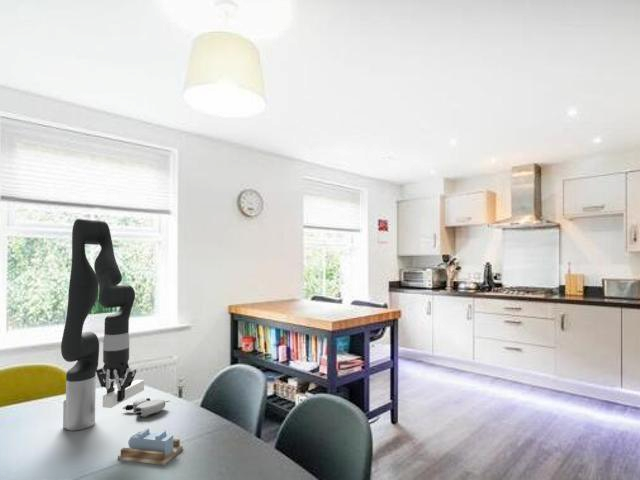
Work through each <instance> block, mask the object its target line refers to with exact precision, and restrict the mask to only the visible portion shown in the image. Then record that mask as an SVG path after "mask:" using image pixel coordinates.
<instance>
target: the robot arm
mask: <svg viewBox="0 0 640 480" xmlns="http://www.w3.org/2000/svg"><path fill="white" fill-rule="evenodd" d="M71 230H72V231H71V232H72V233H71V268H70V276H69V285H68V294H67V295H68V296H67V297H68V299H67V307H66V317H65V322H64V323H65V324H64V328H63V333H62V339H61V344H60V354H61V355H62V358H63V359H64V361H65V362H68V363H73V362H76V363H74V365H73V366H72V367H71V368H69V369H68V370H67V372H66V374H65V375H66V376H65V381H66V382H65V399H64V401H63V403H62V404H63V406H62V407H63V410H62V411H63V412H62V413H63V414H62V428H64V429H65V430H66V431H72V432H73V431H79V430H80V431H81V430H85V429H88V428H90V427H92V426H94V424H96V390H97V389H96V377H97V379H98V381H99V384H100V386H101V388H105V389H106V394H108V393H110V392H112V391H114V390H116V389H115V384H116V386H117V389H118V391H117V401H118V402H121V401H123V400H124V398H125V388H127V387H129V386H131V384H132V382H133V381H134V379H135V376H136V373H137V370H136V369H131V368H130V365H129V360H130V333H129V330H130V328H129V325H130V324H129V323H130V322H129V321H130V317H131V312H132V309H133V306H134V303H135V299H136V291H135V289H134V288H133V286H132V285H130V284H123V285H122V284H121V285H119V284H120V283H121V282H122V280H123V275H122V273H121V270H120V268H119V265H118V262H117V260H116V257H115V251H114V246H113V239H112V234H111V230H110V226H109V224H108V223H107V222H106V221H105V220H101V219H93V218H91V219H90V218H81V217H80V218H76V219H75V220H74V222H73V225H72V229H71ZM86 245H99V246H100V251H99V253H98V255H97V256H96V259H95V261H94V265H93V267H92V265H91V264H90V262H89V259H88V258H87V254H86ZM93 268H94V269H93ZM97 300H98V302H99V304H100V306H102V308H105V309H111V308H119V309H118V310H117V311H116V312H115V313H112V314H110V315H107V316H106V317H105V318H104V330H103V331H104V334H103V343H102V344H103V345H102V348H103V350H102V362H103V364H104V365H103V367H99V357H100V356H99V355H100V341H99V340H100V339H99V338H98V335H97V334H96V333H94V332H92V331H87V332H83V330H84V325H85V321H86V319H87V317H88V316H89V314H90V312H91V311H92V309H93V308H94V306H95V305H96V302H97ZM123 402H124V401H123ZM121 403H122V402H121Z"/></svg>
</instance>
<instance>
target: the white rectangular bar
mask: <svg viewBox="0 0 640 480" xmlns="http://www.w3.org/2000/svg"><path fill="white" fill-rule="evenodd" d="M117 391H118V388H117V389H115V390H114V391H112V392H110V393H108V394H107V393H106V394H105V395H102V408H106V409H107V408H108V409H112V408H114V407H115V406H118V405H119V404H121V403H123V402H125V401H127V400H129V399H130V398H132V397H134V396H137V395H138V394H140V393H142V392H143V391H145V380H144V379H135V380H133V381H132V384H131V386H129V387H127V388H125V398H124V400H123V401H121V402H118V401H117Z"/></svg>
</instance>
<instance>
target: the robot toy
mask: <svg viewBox="0 0 640 480" xmlns="http://www.w3.org/2000/svg"><path fill="white" fill-rule="evenodd" d="M169 402H170V400H167V401H166V400H164V399H160V398H157V399H156V398H155V399H151V398H148V397H147V398H140V399H136V400H134V401H132V404H127V405H125V406H122V410H125V411H132V410H134V414H135V415H138V416H141V417H142V418H146V417H147V418H148V417H149V415H153V414H155V413H159V412H160V411H162V410H163V409H165V407H166V403H169Z"/></svg>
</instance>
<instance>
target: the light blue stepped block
mask: <svg viewBox="0 0 640 480" xmlns="http://www.w3.org/2000/svg"><path fill="white" fill-rule="evenodd" d="M173 439H174V434H167V430H165V429H163V430H162V431H160V432H158V433H156V432H150V429H149V428H145V429H144V430H142V431H138V432H137V433H136V434H134V435H132V436H130V437H129V439H128V442H127V443H128V445H127V446H128V448H131V449H140V450H150V451H159V452H164V456H166V455H167V454H169V453H170V452H171V451H172V450H173Z"/></svg>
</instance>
